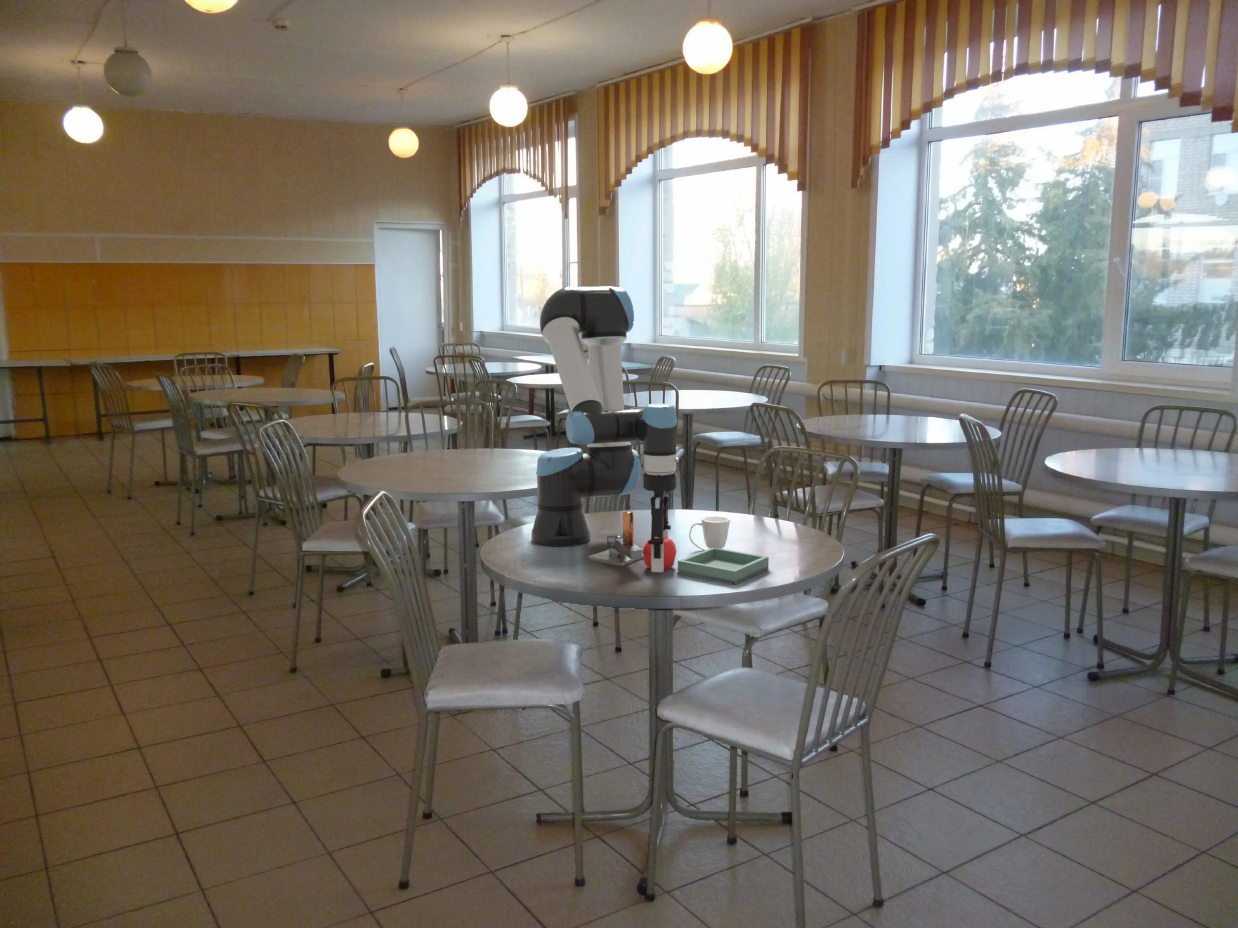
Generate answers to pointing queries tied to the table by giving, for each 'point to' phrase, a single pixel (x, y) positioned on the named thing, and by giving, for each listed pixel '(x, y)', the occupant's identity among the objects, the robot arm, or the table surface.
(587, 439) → the robot arm
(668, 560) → the apple
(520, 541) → the table surface
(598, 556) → the crank post
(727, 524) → the cup
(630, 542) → the crank
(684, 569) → the tray
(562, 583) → the table surface
